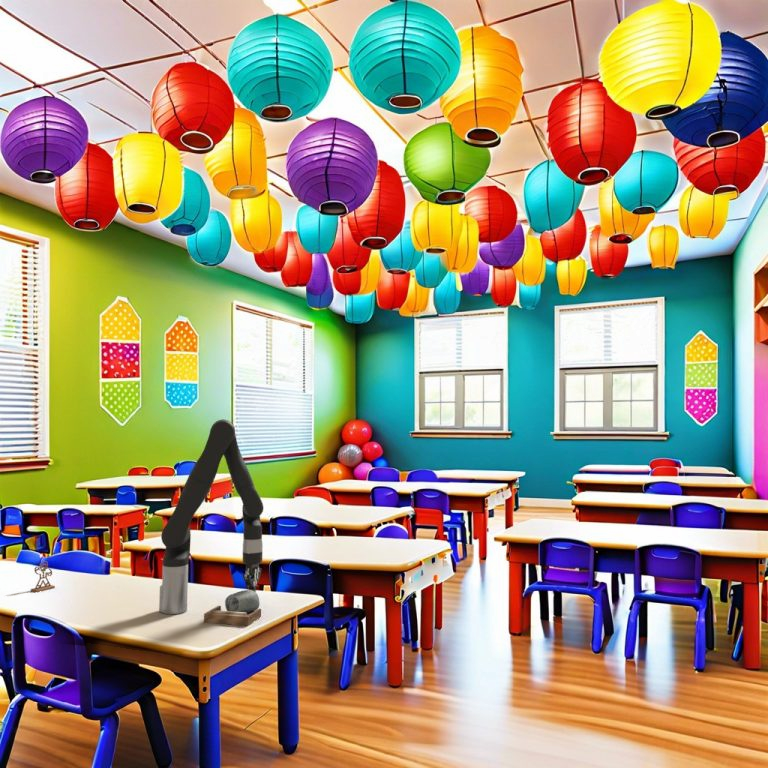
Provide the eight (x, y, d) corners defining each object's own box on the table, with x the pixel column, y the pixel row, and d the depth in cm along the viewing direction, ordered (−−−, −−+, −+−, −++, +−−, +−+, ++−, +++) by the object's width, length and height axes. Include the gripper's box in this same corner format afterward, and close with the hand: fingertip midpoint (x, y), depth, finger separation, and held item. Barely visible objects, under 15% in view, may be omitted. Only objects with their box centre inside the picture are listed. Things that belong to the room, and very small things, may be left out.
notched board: (203, 622, 242) (204, 611, 242) (218, 613, 253) (218, 603, 253) (248, 625, 238) (248, 615, 239) (261, 617, 249) (261, 607, 249)
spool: (234, 611, 244) (233, 584, 249) (220, 619, 249) (219, 592, 254) (266, 614, 253) (264, 587, 258) (251, 621, 258) (249, 595, 263)
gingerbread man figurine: (49, 587, 291) (50, 558, 292) (55, 588, 290) (56, 559, 290) (30, 591, 283) (31, 562, 284) (36, 592, 282) (37, 563, 282)
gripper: (250, 546, 270) (250, 591, 269) (236, 553, 257) (235, 599, 256) (268, 547, 268) (267, 592, 267) (254, 554, 255) (254, 601, 254)
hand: (252, 595), depth 261 cm, fingers closed
